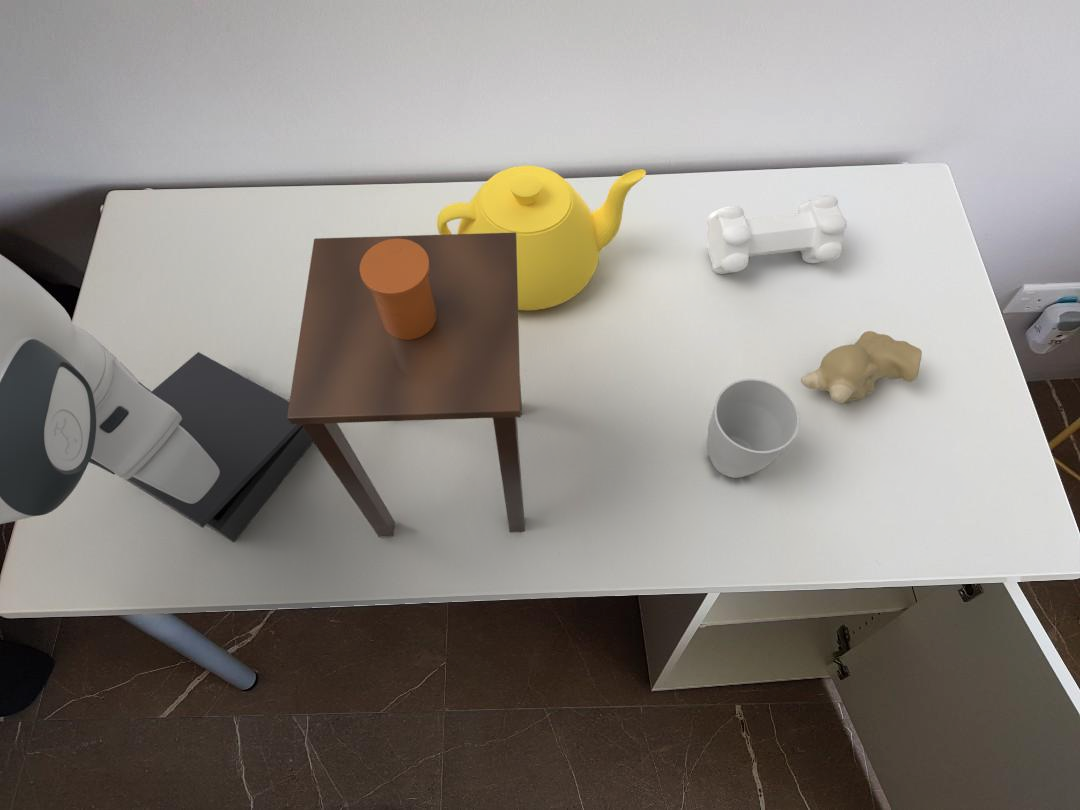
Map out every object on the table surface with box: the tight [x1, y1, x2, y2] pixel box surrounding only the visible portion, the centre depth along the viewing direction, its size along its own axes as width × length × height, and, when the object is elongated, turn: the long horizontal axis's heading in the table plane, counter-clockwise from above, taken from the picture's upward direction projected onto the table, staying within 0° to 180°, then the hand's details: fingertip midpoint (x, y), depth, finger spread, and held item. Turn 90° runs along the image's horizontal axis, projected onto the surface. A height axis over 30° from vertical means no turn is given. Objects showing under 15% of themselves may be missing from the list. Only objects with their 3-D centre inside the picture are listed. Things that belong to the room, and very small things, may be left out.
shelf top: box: [287, 232, 522, 424], centre depth 52 cm, size 16×16×1 cm
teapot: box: [436, 165, 647, 311], centre depth 84 cm, size 25×18×14 cm
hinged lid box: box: [205, 426, 314, 543], centre depth 76 cm, size 15×16×4 cm
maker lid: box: [124, 351, 302, 529], centre depth 71 cm, size 15×16×5 cm
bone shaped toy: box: [705, 194, 848, 275], centre depth 86 cm, size 15×9×8 cm, turn 98°
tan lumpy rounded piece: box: [800, 330, 923, 404], centre depth 78 cm, size 8×7×12 cm
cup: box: [706, 378, 800, 479], centre depth 73 cm, size 8×8×10 cm
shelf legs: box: [301, 383, 526, 538], centre depth 65 cm, size 15×15×27 cm
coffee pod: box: [360, 239, 437, 340], centre depth 49 cm, size 5×5×6 cm
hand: (154, 461), depth 68 cm, fingers closed on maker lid, 5 cm apart
